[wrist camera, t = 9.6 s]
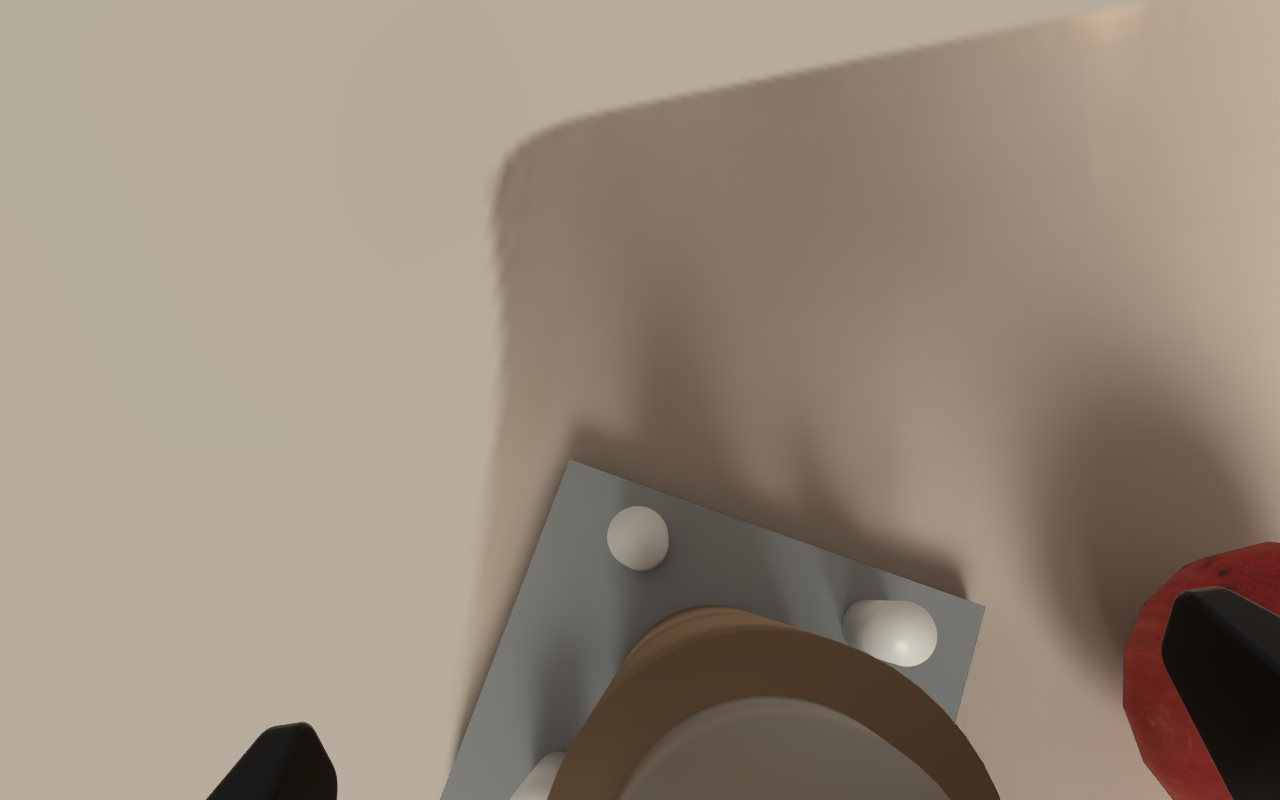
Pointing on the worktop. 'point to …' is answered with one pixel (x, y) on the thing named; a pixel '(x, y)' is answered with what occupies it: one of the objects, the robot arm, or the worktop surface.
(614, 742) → the pepper mill
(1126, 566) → the worktop surface
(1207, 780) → the pomegranate
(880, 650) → the pin tray
